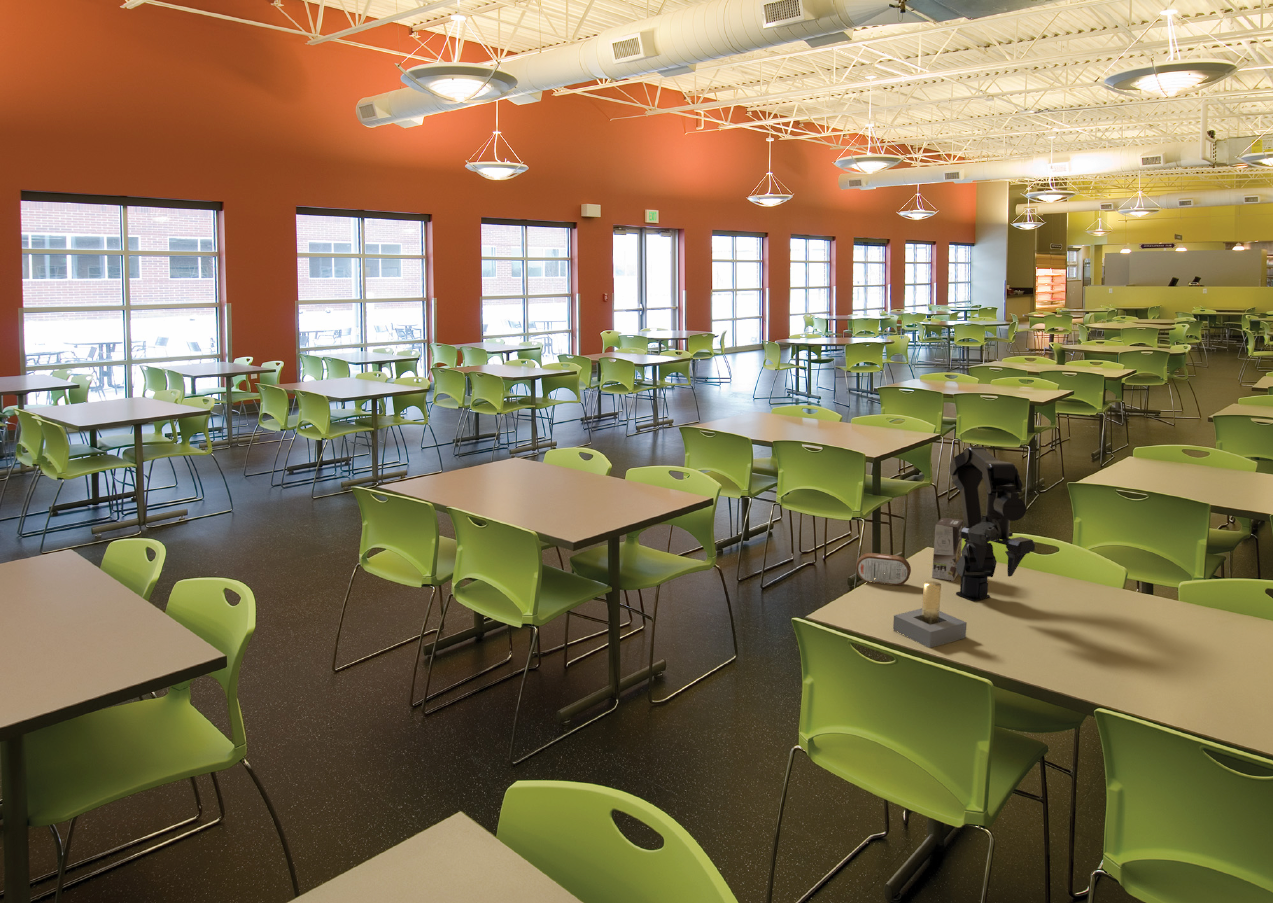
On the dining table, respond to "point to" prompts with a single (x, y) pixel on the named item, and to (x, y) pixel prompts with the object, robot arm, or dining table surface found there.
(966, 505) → the robot arm
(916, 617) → the dock block
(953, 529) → the coffee box
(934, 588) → the peg
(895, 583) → the tin
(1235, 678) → the dining table surface
